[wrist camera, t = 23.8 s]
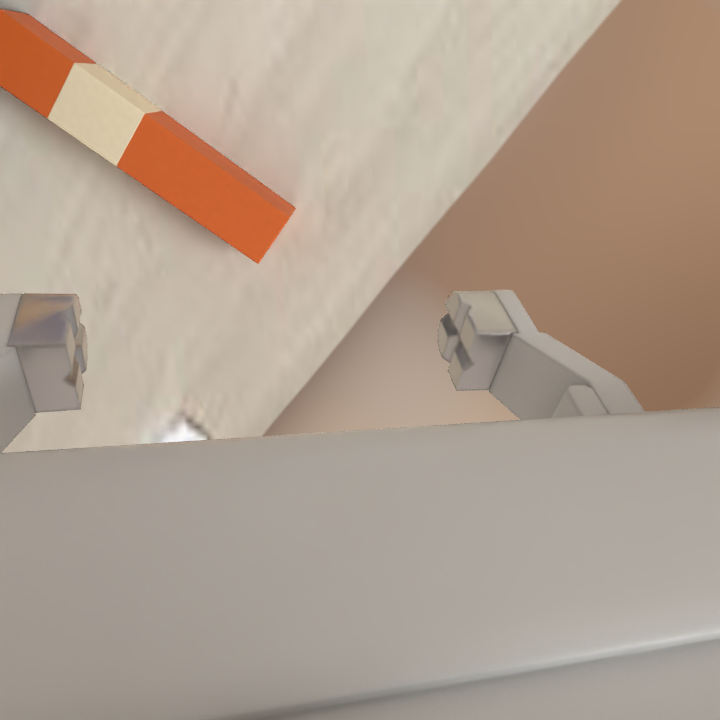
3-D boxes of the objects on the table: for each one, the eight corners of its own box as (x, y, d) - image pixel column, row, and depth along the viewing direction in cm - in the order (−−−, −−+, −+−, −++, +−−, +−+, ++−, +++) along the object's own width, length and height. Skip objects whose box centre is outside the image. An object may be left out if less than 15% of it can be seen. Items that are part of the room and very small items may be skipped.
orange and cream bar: (296, 207, 45) (289, 217, 42) (266, 251, 47) (257, 264, 44) (27, 13, 41) (-3, 7, 38) (3, 68, 42) (-28, 67, 39)
